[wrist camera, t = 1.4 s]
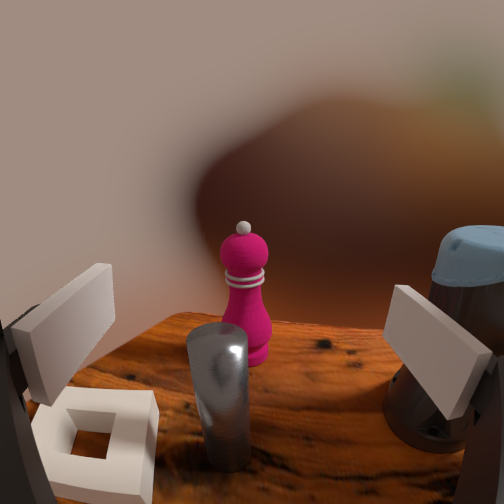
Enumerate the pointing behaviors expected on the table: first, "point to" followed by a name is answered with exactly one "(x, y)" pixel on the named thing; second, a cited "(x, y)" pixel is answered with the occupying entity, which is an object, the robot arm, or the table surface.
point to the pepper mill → (247, 289)
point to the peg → (222, 392)
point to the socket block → (119, 451)
